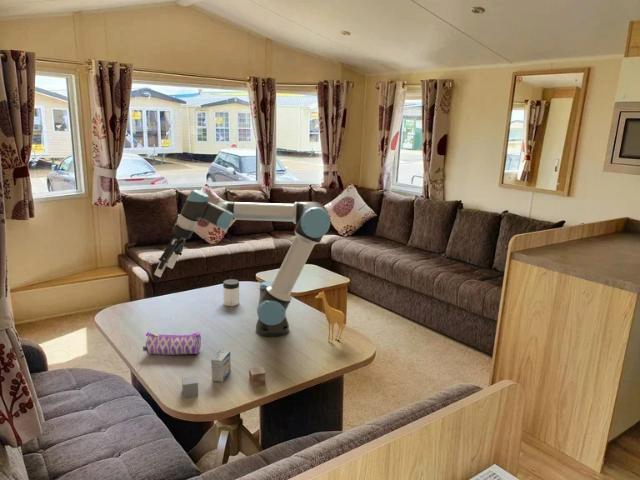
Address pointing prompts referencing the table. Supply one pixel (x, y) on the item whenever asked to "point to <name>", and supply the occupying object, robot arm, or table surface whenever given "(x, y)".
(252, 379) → the walnut block
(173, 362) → the table surface
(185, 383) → the slate grey block
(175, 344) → the pencil case
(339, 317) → the giraffe
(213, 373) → the medicine box
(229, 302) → the jar
